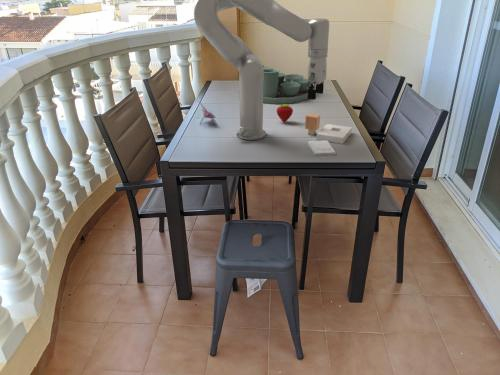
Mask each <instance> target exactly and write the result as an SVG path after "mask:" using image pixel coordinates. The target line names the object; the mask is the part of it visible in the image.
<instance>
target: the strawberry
mask: <svg viewBox="0 0 500 375" xmlns="http://www.w3.org/2000/svg"><path fill="white" fill-rule="evenodd" d="M293 112H294V110H293V108H292V106H291V104H289V103H286V104H284V103H283V104H280V105H279V106H278V107H277V108H276V114H277V116H278V117H279V119H280V120H281V121H282V123H286V122H287V121H288V120H289V119H290V118H291V117H292V115H293Z"/></svg>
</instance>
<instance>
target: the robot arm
mask: <svg viewBox="0 0 500 375" xmlns="http://www.w3.org/2000/svg"><path fill="white" fill-rule="evenodd" d="M231 8H232V9H233V8H237V9H238V10H240V11H242V12H244V13H246V14H247V15H250V16H251V17H252V18H254V19H256V20H258V21H259V22H261V23H263V24H265V25H267V26H269V27H271V28H274V30H276V31H279V32H280V33H282V34H283V35H286V37H289V38H291V39H293V40H294V41H296V42H299V43H303V42H306V41H308V46H307V47H308V49H307V58H309V62H308V70H307V79H308V99H307V100H312V101H314V100H316V99H317V94H320V95H322V94H324V86H325V81H326V79H327V64H328V63H327V58H328V49H329V32H330V21H329V19H327V18H322V17H321V18H318V17H317V18H312V19H309V18H302V17H300V16H298V15H297V14H294V13H293V12H291V11H290V10H288V9H286V8H285V7H284V6H282V5H280V4H279V3H278V2H277V1H276V0H195V4H194V8H193V17H194V22H195V25H196V27H197V29H198V30H199V32H200V33H201V35H203V37H204V38H205V40H206V41H208V42H209V44H210V45H211V46H212V47H213V48H214V49H215V51H217V52H218V53H219V55H220V56H221V57H222V59H223V60H225V61H226V62H228V63H231V65H233V67H234V68H235V69H236V70H237V71H238V83H239V86H238V87H239V90H238V92H239V130H237V131H236V137H237V138H238V139H241V140H246V141H257V140H261V139H263V138H265V137H266V136H267V131H266V130H265V129H263V126H264V125H263V124H264V123H263V122H264V116H263V115H264V111H263V110H264V103H263V80H264V70H263V66H262V65H263V64H262V62H261V60H260V58H259V57H258V55H256V54H255V52H253V51H252V49H251V48H250V47H249V46H248V45H247V44H246V43H245V42H244V41H243V39H242V38H241V37H239V36H238V35H236V34H233V33H232V32H231V31H230V30H229V28H227V26H226V25H225V24H224V23H223V21H221V19H220V18H219V16H218V13H219V12H222V11H225V10H228V9H231Z"/></svg>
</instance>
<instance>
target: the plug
mask: <svg viewBox="0 0 500 375" xmlns="http://www.w3.org/2000/svg"><path fill="white" fill-rule="evenodd" d="M304 125H305V126H304V128H305V129H306V130H308V135H311V136H314V135H315V134H317V133H316V131H317V130H318V129H320V125H321V114H316V113H308V114H307V115H305V124H304Z"/></svg>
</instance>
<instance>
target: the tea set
mask: <svg viewBox="0 0 500 375" xmlns="http://www.w3.org/2000/svg"><path fill="white" fill-rule="evenodd" d="M262 66H263V70H264V80H263V104H270V105H273V104H274V105H283V103H284V104H295V103H298V102H304V101H307V100H309V99H308V78H304V75H301V74H298V73H297V74H294V73H293V74H286V73H282V72H280V71H281V70H280V69H279V68H276V67H269V66H265V65H264V64H262Z"/></svg>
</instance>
